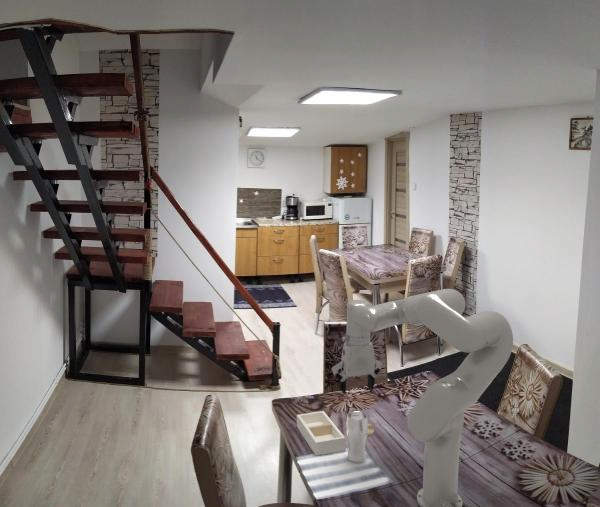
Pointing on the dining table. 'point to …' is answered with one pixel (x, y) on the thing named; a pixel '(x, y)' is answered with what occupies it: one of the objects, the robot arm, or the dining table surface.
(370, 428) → the cork trivet
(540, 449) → the dining table surface
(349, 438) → the beer glass
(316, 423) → the cream divided tray
